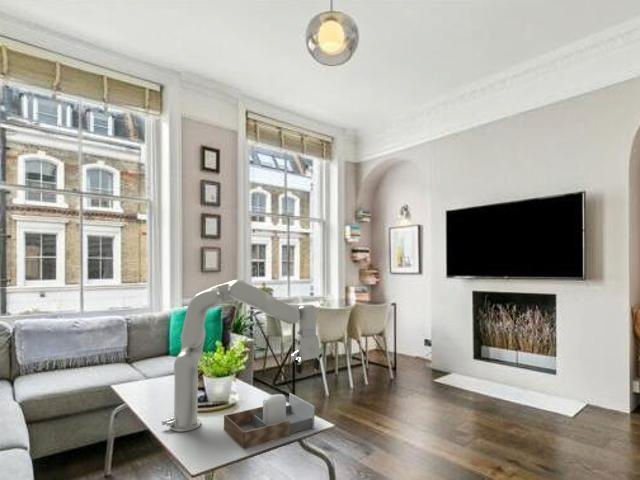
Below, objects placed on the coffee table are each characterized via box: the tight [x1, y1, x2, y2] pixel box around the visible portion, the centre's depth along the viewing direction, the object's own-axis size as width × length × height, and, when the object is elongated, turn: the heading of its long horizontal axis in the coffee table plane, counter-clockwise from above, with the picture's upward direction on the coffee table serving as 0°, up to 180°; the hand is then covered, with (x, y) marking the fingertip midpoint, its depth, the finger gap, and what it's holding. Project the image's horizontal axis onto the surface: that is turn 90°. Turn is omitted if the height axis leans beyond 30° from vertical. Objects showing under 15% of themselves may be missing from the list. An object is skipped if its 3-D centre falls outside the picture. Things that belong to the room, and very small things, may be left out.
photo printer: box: [262, 393, 287, 425], centre depth 171 cm, size 10×4×12 cm, turn 127°
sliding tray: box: [251, 392, 316, 435], centre depth 173 cm, size 20×20×9 cm
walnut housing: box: [223, 406, 291, 450], centre depth 166 cm, size 20×20×6 cm
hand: (307, 371), depth 181 cm, fingers open, 9 cm apart
